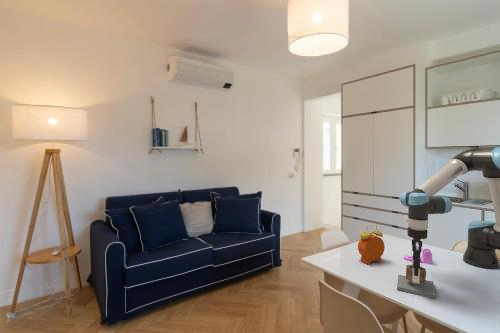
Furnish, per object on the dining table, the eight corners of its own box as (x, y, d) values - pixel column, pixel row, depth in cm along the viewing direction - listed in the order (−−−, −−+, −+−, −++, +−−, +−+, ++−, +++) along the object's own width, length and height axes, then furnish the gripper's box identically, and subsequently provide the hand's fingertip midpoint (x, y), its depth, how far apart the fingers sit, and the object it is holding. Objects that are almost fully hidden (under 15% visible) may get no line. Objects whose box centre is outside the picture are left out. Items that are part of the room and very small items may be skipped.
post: (433, 284, 125) (433, 264, 125) (435, 298, 113) (436, 276, 113) (398, 277, 132) (398, 258, 132) (397, 290, 120) (397, 268, 120)
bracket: (429, 260, 153) (430, 248, 153) (431, 264, 148) (432, 251, 147) (403, 257, 158) (403, 245, 158) (404, 260, 153) (404, 248, 153)
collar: (424, 277, 124) (425, 267, 124) (425, 284, 117) (426, 273, 117) (406, 274, 128) (406, 263, 127) (405, 280, 121) (406, 269, 121)
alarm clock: (376, 257, 157) (377, 223, 156) (384, 261, 151) (385, 225, 150) (357, 260, 153) (357, 225, 152) (364, 264, 147) (365, 228, 146)
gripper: (407, 222, 132) (406, 268, 133) (407, 232, 114) (405, 286, 116) (426, 224, 128) (424, 272, 129) (428, 235, 111) (426, 290, 112)
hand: (415, 278), depth 122 cm, fingers closed on collar, 7 cm apart
